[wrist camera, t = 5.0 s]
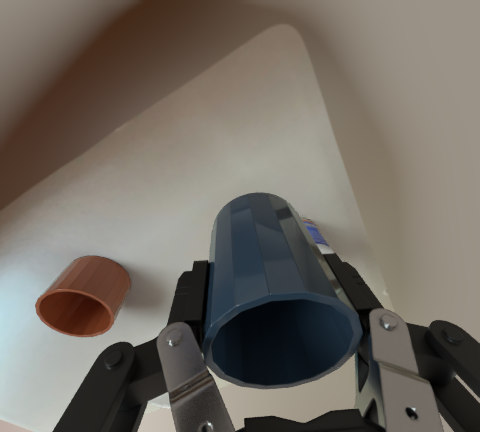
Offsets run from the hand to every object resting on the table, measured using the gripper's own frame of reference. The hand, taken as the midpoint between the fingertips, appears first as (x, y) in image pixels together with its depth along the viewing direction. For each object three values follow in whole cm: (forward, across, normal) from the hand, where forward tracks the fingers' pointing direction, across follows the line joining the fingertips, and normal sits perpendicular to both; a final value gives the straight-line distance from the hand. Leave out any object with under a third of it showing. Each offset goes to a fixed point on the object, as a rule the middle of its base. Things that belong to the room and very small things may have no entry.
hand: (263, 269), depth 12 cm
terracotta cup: (+18, +23, +17) cm, 34 cm away
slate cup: (+4, 0, 0) cm, 4 cm away
